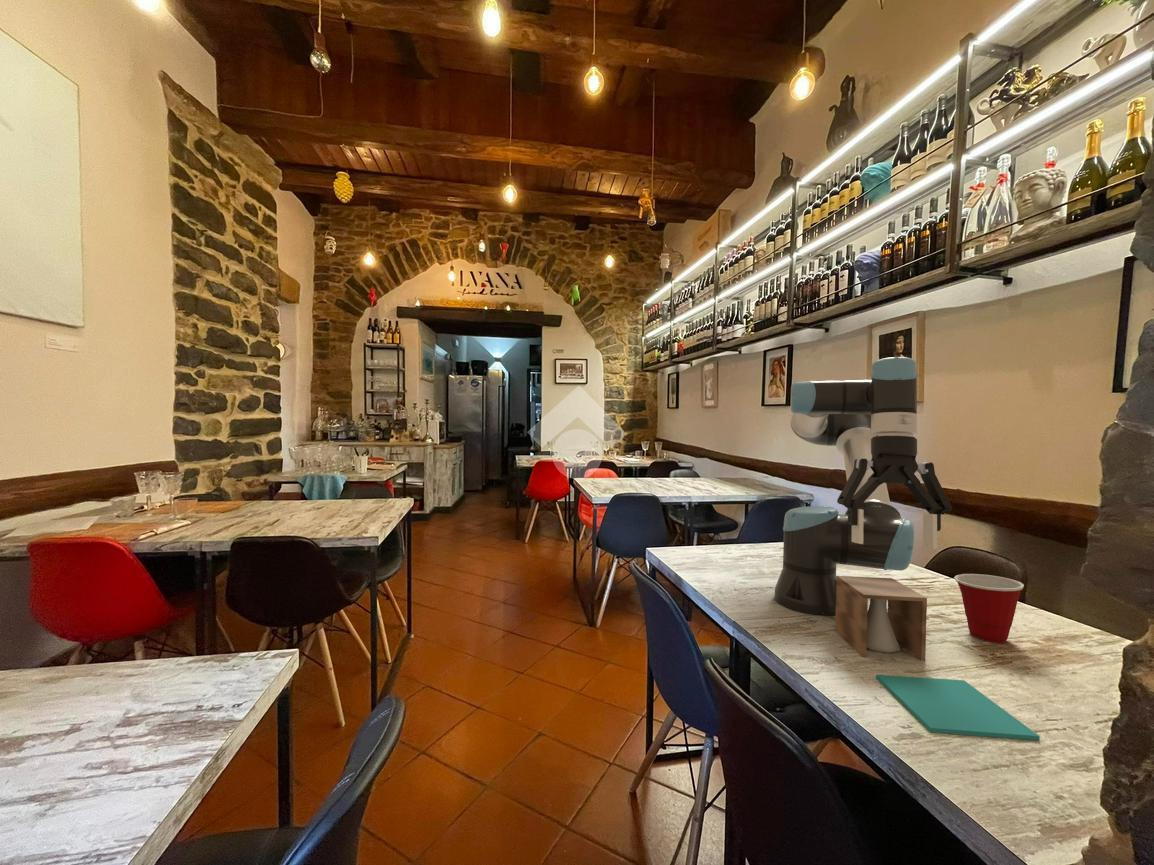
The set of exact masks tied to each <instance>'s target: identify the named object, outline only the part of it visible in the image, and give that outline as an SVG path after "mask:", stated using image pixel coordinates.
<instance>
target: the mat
mask: <svg viewBox="0 0 1154 865" xmlns="http://www.w3.org/2000/svg"><path fill="white" fill-rule="evenodd" d="M875 679H876V680H877V681H878V682H879V683H880V684H881V685H882V686H883V687H884V688H886V689H887V691H888V692H889V693H890V694H892V696H893V697H895V699H896V700H898V702H900V704H901V705H902V706H904V708H906V709H907V711H909V712H910V714H912V715H913V716H914V718H915V719H917V720H918V721H919V723H921V725H923V726H924V727H925V729H927V730H928V731H929V732H930V733H934V734H936V733H937V734H949V735H963V736H976V737H977V736H978V737H986V738H987V737H990V738H1000V739H1002V738H1003V739H1012V740H1013V739H1015V740H1026V741H1029V740H1030V741H1040V738H1041V736H1040V735H1038V734H1037V733H1036V732H1034V730H1032V729H1031V728H1029V727H1028V726H1026V725H1025V724H1024V723H1022V722H1021V721H1020V720H1019V719H1017V718H1016V717H1015V716H1013V715H1012V714H1010V713H1009V712H1008V711H1007V710H1005V709H1004V708H1002V707H1001V706H1000V705H998V704H997V703H996V702H995V701H993V700H991V699H990V698H989V697H988V696H986V695H985V694H983V693H982V692H981V691H979V690H978V689H977V688H976V687H975V686H973V685H971V684H970V683H969V682H967V681H966V680H964V679H948V678H933V677H919V676H905V675H903V676H902V675H886V674H875Z"/></svg>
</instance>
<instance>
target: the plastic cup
mask: <svg viewBox="0 0 1154 865" xmlns="http://www.w3.org/2000/svg"><path fill="white" fill-rule="evenodd" d="M953 579H954V580H955V581H956V582H957V585H958V587H959V591H960V593H961V598H962V604H963V607H964V614H965V617H966V621H967V622H966V623H967V628H968V630H969V634H970V635H971V636H973V637H974V638H977V639H979V640H982V641H985V642H989V643H995V644H1005V643H1006V642H1007V641H1008V638H1009V635H1010V631H1011V628H1012V626H1013V622H1014V618H1015V615H1016V609H1017V604H1018V602H1019V598H1020V595H1021V592H1022V590H1024V587H1025V585H1024V583H1022V582H1021V581H1018V580H1015V579H1012V578H1007V577H1003V576H998V575H990V574H979V573H962V574H957V575H955V576H954V577H953Z"/></svg>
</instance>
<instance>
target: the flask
mask: <svg viewBox="0 0 1154 865" xmlns="http://www.w3.org/2000/svg"><path fill="white" fill-rule="evenodd" d="M867 649H869V650H871V651H875V652H883V653H888V654H889V653H894V652H900V651H901V648H900V644H899V643H898V642H897V640H896V637H895V634H894V632H893V629H892V626H891V623H890V620H889V617H888V600H884V599H869V606H868V610H867Z"/></svg>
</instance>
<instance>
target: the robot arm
mask: <svg viewBox="0 0 1154 865" xmlns="http://www.w3.org/2000/svg"><path fill="white" fill-rule="evenodd" d="M869 377H870V379H863V380H862V379H859V380H858V379H856V380H806V381H796V382H793V383H792V384H791V387H790V411H791V413H792V416H791V418H790V427H791V430H792V432H793V433H794V434H795V436H796V437H798V438H800V439H801V440H803V441H805V442H807V443H811V444H812V445H813V444H814V445H817V446H818V445H819V446H827V447H828V446H829V447H832V446H833V447H836V449H837V451H838V452H839V453H840V454H841V455H843V459H844V468H845V475H846V476H845V477H846V482H845V485H844V487H843V489H842V490H841V492H840V494H839V496H838V498H837V500H836V502H837V504H839V505H842V506H844V507H845V509H846V511H845V512H844V514H839V511H838V509H837V508H836V507H834V506H833V507H831V506H824V505H823V506H821V505H820V506H819V505H816V506H815V505H814V506H813V505H812V506H801V507H795V508H791V509H789V510H788V511H786V512H785V515H784V519H783V526H782V531H783V548H782V549H783V552H782V557H783V558H782V569H781V572H780V575H779V577H778V579H777V582H776V584H775V588H774V600H775V601H776V602H777V603H778V604H780V605H781V606H783V607H785V608H788V609H791V610H794V611H796V612H801V613H805V614H811V615H821V616H831V615H832V616H833V615H836V578H837V576H838V575H837V565H844V566H845V565H847V566H853V567H860V568H861V567H862V568H869V569H870V568H871V569H879V570H883V571H888V570H889V571H899V572H900V571H905V570H907V569H908V567H909V566H910V564H911V561H912V557H913V553H914V552H913V551H914V546H915V545H914V542H915V527H914V523H913V521H912V520H911V519H907V518H902V516H901V512H900V511H899V510H898V509H897V507H895V506H894V505H892V504H891V501H890V495H889V490H888V486H887V484H897V485H903V486H905V487H906V488H907V489H908V490H909V491H910V492H911V493H912V495H913V496H914V497H915V499H917V501H918V502H919V503H920V504H921V505H922V507H923V508H924V509H925V510H926V511H927V512H928V513H927V512H924V513H922V532H923V534H922V537H923V538H922V546H923V547H925V548H929V549H932V550H938V532H941V529H942V526H941V525H942V524H941V523H942V520H941V519H942V518H941V517H942V516H941V515H945V514H946V512H952V510H953V506H952V504H951V502H950V500H949V499H948V497H947V494H946V493H945V490H944V488H943V487H942V485H941V483H940V481H939V479H938V477H937V475H936V471H935V465H934V463H933V462H931V461H930V462H929V461H928V462H926V461H925V462H920V463H918V462H917V459H916V458H917V455H918V438H916V437H915V435H917V433H918V430H917V429H918V421H917V419H918V418H917V417H918V416H917V415H918V414H917V413H918V412H917V408H918V407H917V406H918V403H917V402H918V398H917V397H918V396H917V395H918V394H917V393H918V391H917V390H918V387H917V386H918V377H919V375H918V371H917V363H916V360H914V359H913V358H911V357H907V356H900V357H899V356H895V357H894V356H893V357H885V358H881V359H878V360H876V361H874V362H872V365H871V371H870V375H869ZM916 473H919V475H920V478H921V480H922V482H923V484H924V486H925V487H926V489H925V487H924V486H923V485H922V484H921V480H920V479H919V478H918V477H917V476H916Z"/></svg>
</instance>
